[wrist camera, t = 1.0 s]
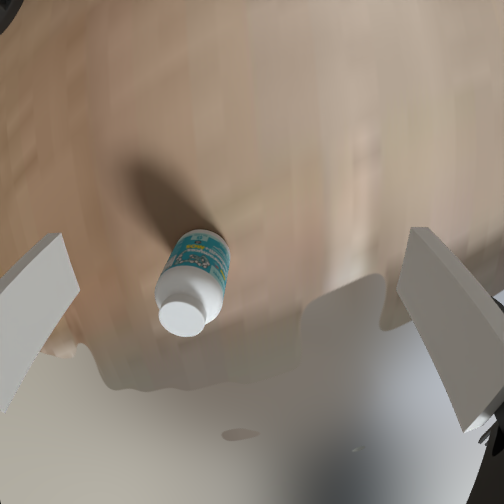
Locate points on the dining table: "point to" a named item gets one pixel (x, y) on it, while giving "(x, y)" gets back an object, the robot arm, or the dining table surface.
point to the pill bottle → (193, 283)
